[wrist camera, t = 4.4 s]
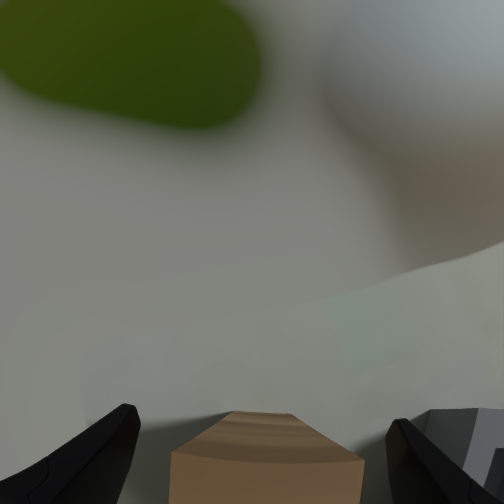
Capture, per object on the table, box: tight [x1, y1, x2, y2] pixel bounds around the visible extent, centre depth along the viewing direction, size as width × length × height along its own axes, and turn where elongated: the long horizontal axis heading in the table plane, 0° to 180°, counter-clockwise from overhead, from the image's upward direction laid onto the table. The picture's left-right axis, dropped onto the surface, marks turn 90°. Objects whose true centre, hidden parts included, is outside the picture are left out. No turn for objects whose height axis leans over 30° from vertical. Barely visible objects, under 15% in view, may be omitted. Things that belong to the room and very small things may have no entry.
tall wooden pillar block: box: [169, 411, 365, 504], centre depth 9 cm, size 3×3×12 cm
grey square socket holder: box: [424, 408, 504, 502], centre depth 9 cm, size 10×10×5 cm
